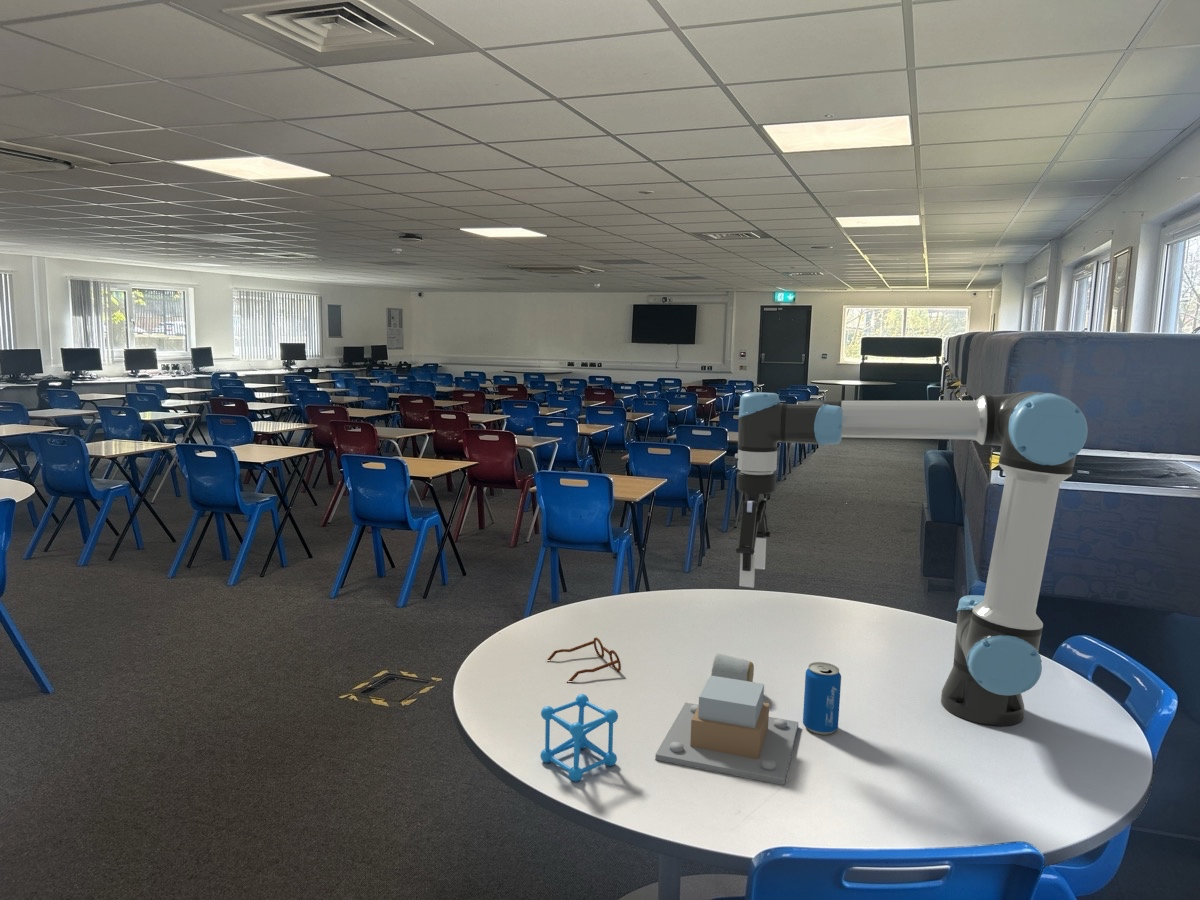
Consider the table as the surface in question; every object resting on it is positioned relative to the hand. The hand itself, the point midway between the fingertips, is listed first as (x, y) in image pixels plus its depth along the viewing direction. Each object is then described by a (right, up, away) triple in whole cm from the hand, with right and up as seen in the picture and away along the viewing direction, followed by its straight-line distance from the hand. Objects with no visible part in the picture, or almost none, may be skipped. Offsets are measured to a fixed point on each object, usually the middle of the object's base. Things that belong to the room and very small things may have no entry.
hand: (752, 577), depth 159 cm
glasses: (-34, -24, +19) cm, 46 cm away
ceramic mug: (-3, -25, +9) cm, 27 cm away
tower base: (-7, -28, -14) cm, 32 cm away
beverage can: (+11, -28, -7) cm, 31 cm away
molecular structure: (-34, -29, -22) cm, 50 cm away
